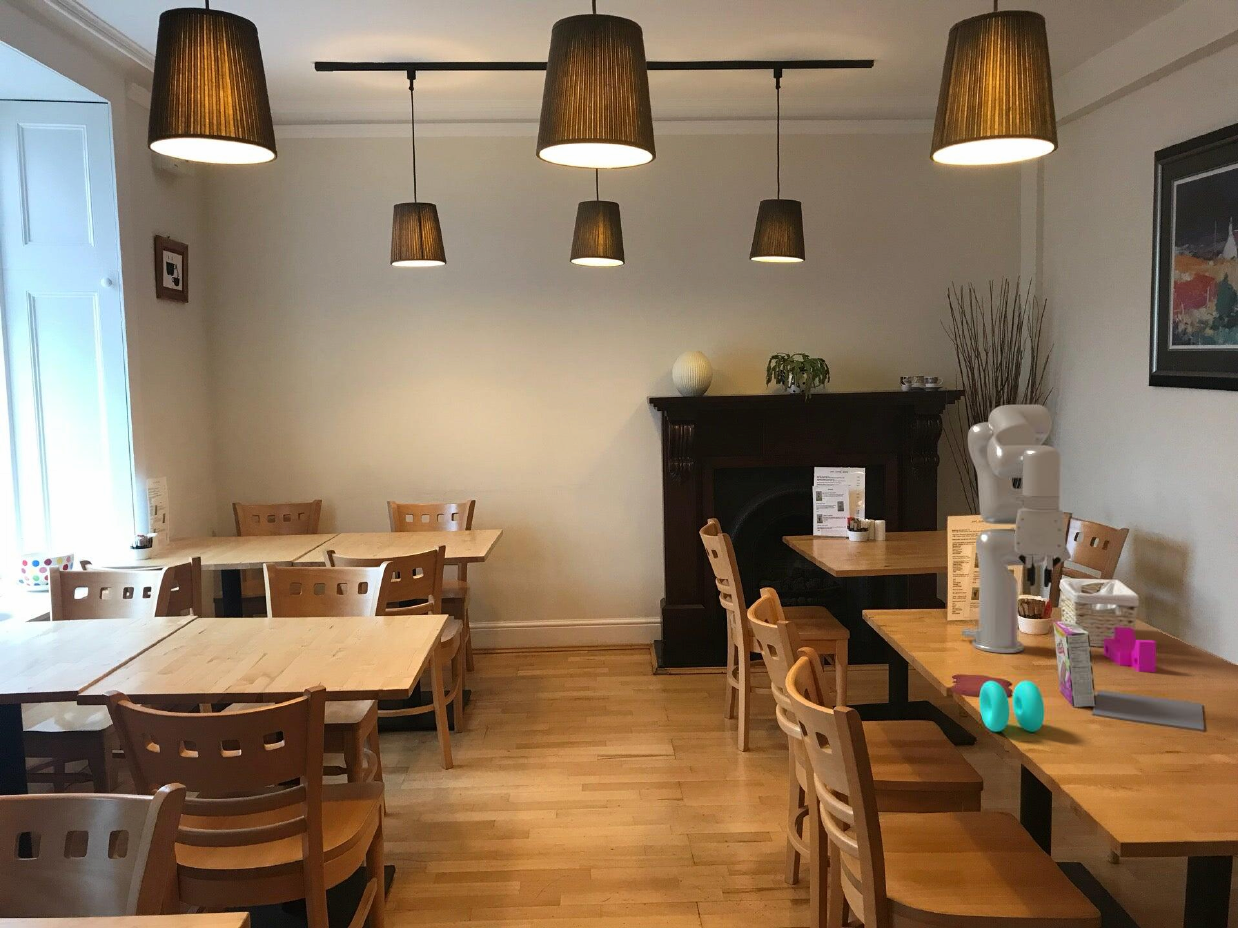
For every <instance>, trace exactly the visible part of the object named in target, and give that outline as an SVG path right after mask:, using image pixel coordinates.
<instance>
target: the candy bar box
mask: <svg viewBox="0 0 1238 928" xmlns="http://www.w3.org/2000/svg"><path fill="white" fill-rule="evenodd" d="M1052 624H1053V632H1054V643H1055V653H1056V661H1057V662H1056V663H1057V672H1058V680H1059V682H1058V683H1059V692H1060V693H1061V694H1062V695H1063V696H1064V698H1065V699H1066V700H1067V701H1068V702H1069V704H1070V705H1071V706H1072V707H1073V708H1079V709H1082V708H1094V707H1096V691H1095V679H1094V671H1093V660H1092V651H1091V646H1090V639H1089V633H1088V632H1087V631H1086V630H1085V629H1084V628H1082V627H1081V626H1080V625H1079V624H1078V623H1077V622H1076V621H1062V620H1061V621H1053V623H1052Z"/></svg>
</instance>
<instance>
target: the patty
mask: <svg viewBox="0 0 1238 928" xmlns="http://www.w3.org/2000/svg"><path fill="white" fill-rule="evenodd" d="M951 677H952V678H953V679H952V678H951V679H952V680H954V679H956V681H955V680H954V681H952V684H953V685H952V686H951V687H950V691H952V692H953V693H955V694H957V695H960V696H965V697H971V698H980V691H981V688H982V686H983V685H984V684H985V683H986V682H988V681H995V682H997V683H998V684H1000V685H1001V686H1002V687H1003V689H1004V691H1005V692H1006V695H1007V698H1008V699H1009V698H1011V696H1012V697H1013V694H1012V693H1013V692H1012V691H1013V689H1011V688H1010V687H1011V685H1012V684H1013V683H1012V682H1011V681H1009V680H1007V679H1004V678H1000V677H992V676H987V675H984V674H965V673H964V674H961V673H959V674H953V675H952V676H951ZM954 683H956V684H954ZM1012 686H1013V685H1012ZM1011 692H1012V693H1011Z"/></svg>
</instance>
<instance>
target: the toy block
mask: <svg viewBox="0 0 1238 928" xmlns="http://www.w3.org/2000/svg"><path fill="white" fill-rule="evenodd" d="M1135 635H1136V633H1135V629H1132V628H1130V627H1114V639H1113V638H1104V646H1103V655H1104V656H1106V657H1107V658H1108V659H1110V660H1111V661H1112V662H1114V663H1116V664H1117V665H1119V666H1120V667H1122V666H1123V667H1132V668H1133V669H1134V670H1136V671H1137V672H1138V673H1140V672H1141V673H1155V672H1156V652H1157V650H1156V648H1157V642H1156V641H1154V640H1153V639H1136V636H1135Z"/></svg>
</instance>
